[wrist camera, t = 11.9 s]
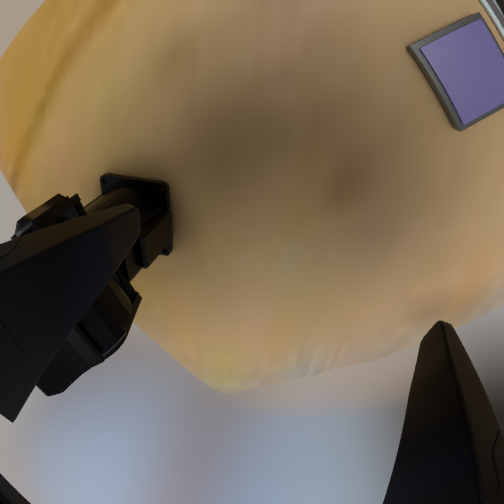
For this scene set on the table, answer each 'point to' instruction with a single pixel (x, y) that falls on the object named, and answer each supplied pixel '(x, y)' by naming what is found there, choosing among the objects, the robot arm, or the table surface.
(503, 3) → the stamp
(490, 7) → the white flat square
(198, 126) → the table surface
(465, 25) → the ink pad
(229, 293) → the table surface
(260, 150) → the table surface
